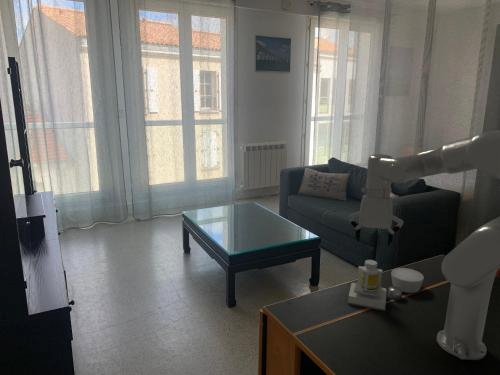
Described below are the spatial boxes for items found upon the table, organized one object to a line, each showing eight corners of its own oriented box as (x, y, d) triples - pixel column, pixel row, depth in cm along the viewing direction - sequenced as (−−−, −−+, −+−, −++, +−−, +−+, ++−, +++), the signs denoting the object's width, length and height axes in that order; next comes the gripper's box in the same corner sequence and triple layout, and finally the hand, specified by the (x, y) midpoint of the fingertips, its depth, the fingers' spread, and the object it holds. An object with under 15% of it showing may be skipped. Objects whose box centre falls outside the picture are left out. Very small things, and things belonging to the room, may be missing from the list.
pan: (380, 300, 126) (381, 295, 126) (353, 295, 129) (354, 290, 129) (381, 290, 132) (381, 286, 132) (355, 286, 135) (356, 281, 135)
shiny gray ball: (401, 301, 132) (402, 293, 131) (387, 298, 134) (388, 291, 133) (400, 294, 136) (401, 287, 135) (388, 292, 138) (388, 285, 137)
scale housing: (385, 311, 126) (388, 283, 123) (347, 303, 130) (349, 277, 127) (385, 296, 135) (388, 270, 132) (350, 289, 139) (352, 264, 137)
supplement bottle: (379, 288, 130) (382, 262, 128) (372, 294, 126) (375, 267, 124) (365, 282, 134) (367, 257, 131) (357, 288, 130) (360, 262, 128)
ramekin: (383, 283, 144) (384, 271, 143) (404, 277, 149) (405, 265, 148) (407, 297, 134) (409, 284, 133) (428, 290, 139) (430, 277, 138)
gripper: (349, 193, 121) (345, 242, 125) (406, 198, 116) (401, 250, 120) (351, 187, 128) (348, 234, 132) (406, 192, 122) (400, 241, 126)
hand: (373, 242), depth 126 cm, fingers open, 9 cm apart
